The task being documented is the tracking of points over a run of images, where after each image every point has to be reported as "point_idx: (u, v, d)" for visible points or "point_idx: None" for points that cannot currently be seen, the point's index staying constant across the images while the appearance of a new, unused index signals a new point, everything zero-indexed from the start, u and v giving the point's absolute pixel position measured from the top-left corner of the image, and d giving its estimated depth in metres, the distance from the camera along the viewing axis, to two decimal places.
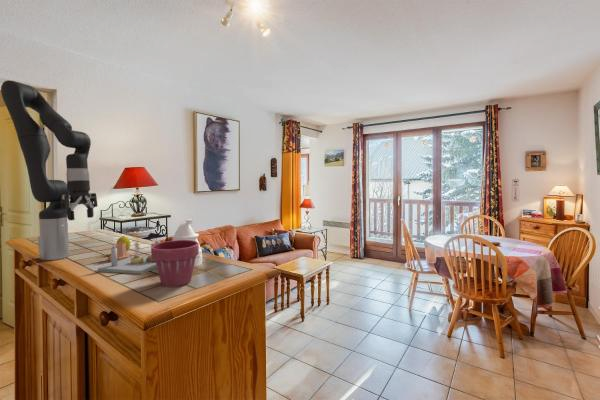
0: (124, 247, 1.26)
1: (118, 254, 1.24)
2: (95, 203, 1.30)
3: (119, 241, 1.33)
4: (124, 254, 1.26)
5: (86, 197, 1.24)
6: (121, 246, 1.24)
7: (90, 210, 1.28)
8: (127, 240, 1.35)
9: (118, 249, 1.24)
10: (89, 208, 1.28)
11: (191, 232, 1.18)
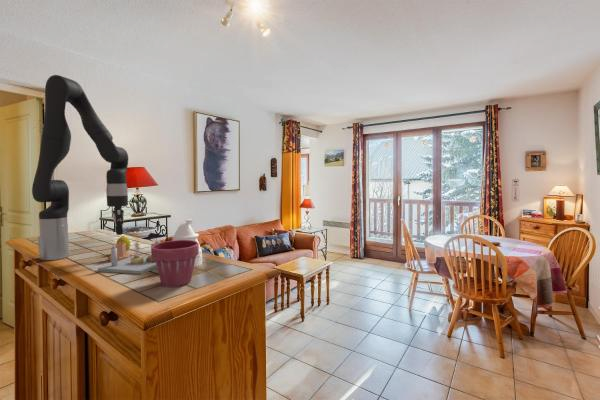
0: (124, 247, 1.26)
1: (118, 254, 1.24)
2: None
3: (119, 241, 1.33)
4: (124, 254, 1.26)
5: None
6: (121, 246, 1.24)
7: None
8: (127, 240, 1.35)
9: (118, 249, 1.24)
10: None
11: (191, 232, 1.18)
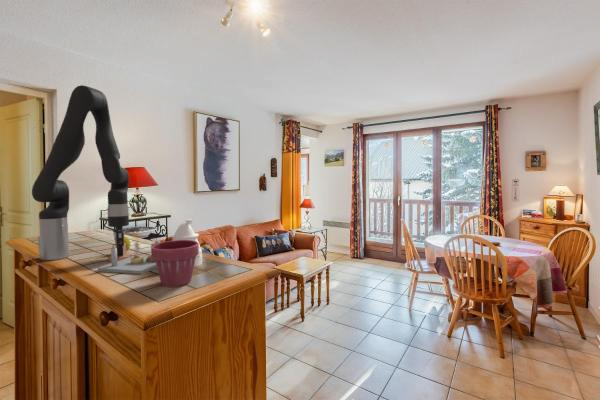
0: (124, 247, 1.26)
1: None
2: (116, 243, 1.21)
3: None
4: (124, 254, 1.26)
5: (113, 233, 1.23)
6: None
7: None
8: (127, 240, 1.35)
9: None
10: None
11: (191, 232, 1.18)
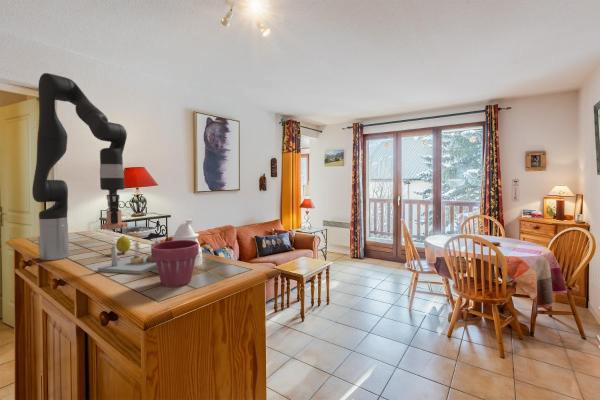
0: (119, 214, 1.11)
1: None
2: None
3: (119, 241, 1.33)
4: (119, 222, 1.11)
5: None
6: None
7: None
8: (127, 240, 1.35)
9: None
10: None
11: (191, 232, 1.18)
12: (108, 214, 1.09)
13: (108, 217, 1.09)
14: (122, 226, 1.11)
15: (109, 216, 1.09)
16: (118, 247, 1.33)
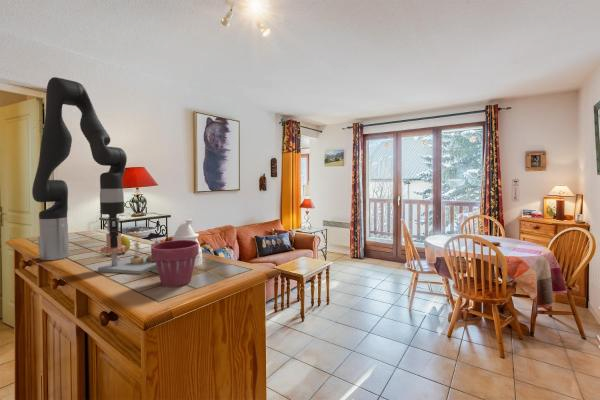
0: (119, 237, 1.11)
1: None
2: None
3: None
4: (119, 245, 1.12)
5: None
6: None
7: None
8: (127, 240, 1.35)
9: None
10: None
11: (191, 232, 1.18)
12: (108, 238, 1.10)
13: (108, 241, 1.10)
14: (122, 250, 1.11)
15: (109, 240, 1.10)
16: None
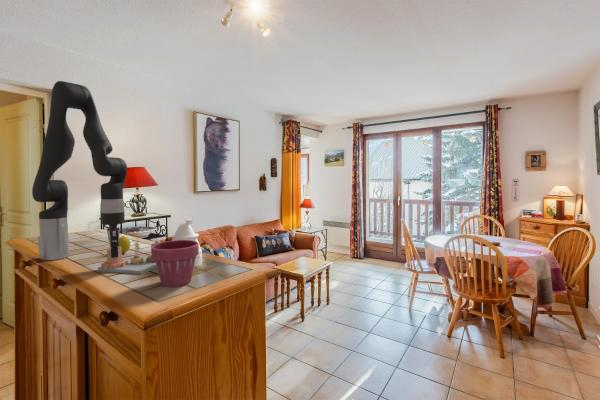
0: (119, 252, 1.12)
1: (113, 260, 1.10)
2: None
3: (119, 241, 1.33)
4: (119, 260, 1.12)
5: (107, 231, 1.09)
6: None
7: None
8: (127, 240, 1.35)
9: None
10: None
11: (191, 232, 1.18)
12: (108, 253, 1.10)
13: (108, 256, 1.10)
14: (122, 265, 1.11)
15: (109, 255, 1.10)
16: None
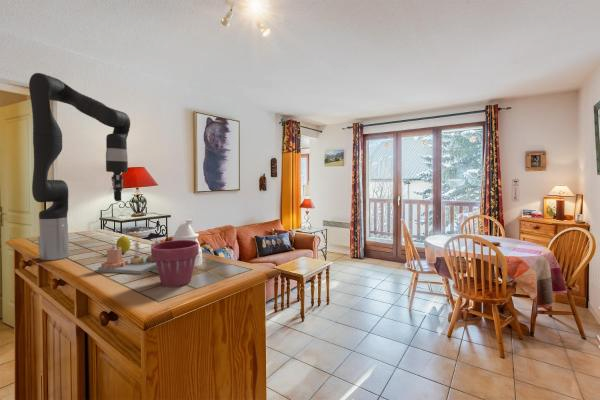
0: (119, 252, 1.12)
1: (113, 260, 1.10)
2: None
3: (119, 241, 1.33)
4: (119, 260, 1.12)
5: (111, 178, 1.19)
6: (116, 251, 1.11)
7: None
8: (127, 240, 1.35)
9: (113, 255, 1.10)
10: None
11: (191, 232, 1.18)
12: (108, 253, 1.10)
13: (108, 256, 1.10)
14: (122, 265, 1.11)
15: (109, 255, 1.10)
16: None
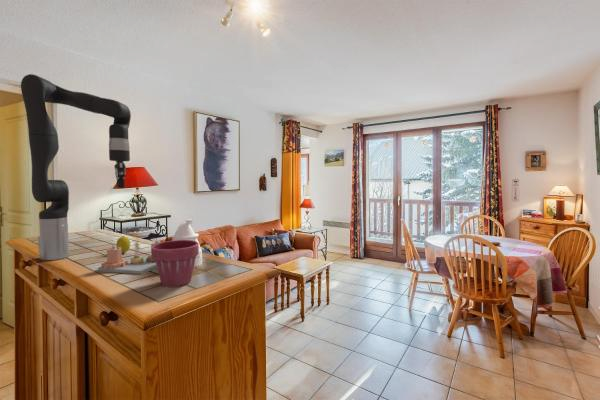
0: (119, 252, 1.12)
1: (113, 260, 1.10)
2: (118, 173, 1.22)
3: (119, 241, 1.33)
4: (119, 260, 1.12)
5: (114, 167, 1.26)
6: (116, 251, 1.11)
7: None
8: (127, 240, 1.35)
9: (113, 255, 1.10)
10: None
11: (191, 232, 1.18)
12: (108, 253, 1.10)
13: (108, 256, 1.10)
14: (122, 265, 1.11)
15: (109, 255, 1.10)
16: None
